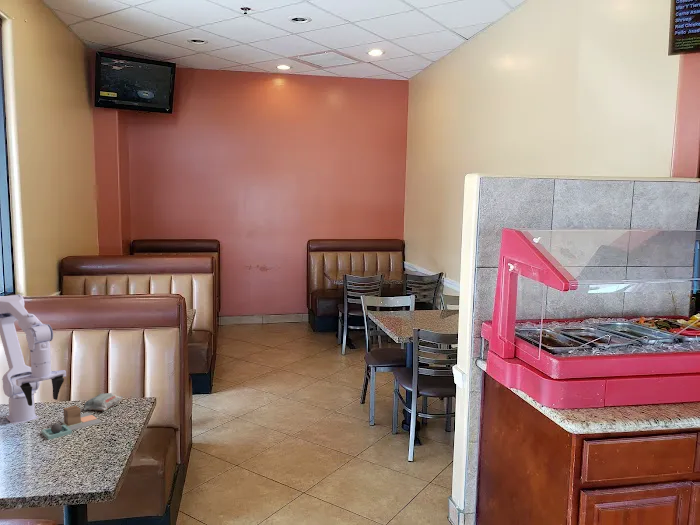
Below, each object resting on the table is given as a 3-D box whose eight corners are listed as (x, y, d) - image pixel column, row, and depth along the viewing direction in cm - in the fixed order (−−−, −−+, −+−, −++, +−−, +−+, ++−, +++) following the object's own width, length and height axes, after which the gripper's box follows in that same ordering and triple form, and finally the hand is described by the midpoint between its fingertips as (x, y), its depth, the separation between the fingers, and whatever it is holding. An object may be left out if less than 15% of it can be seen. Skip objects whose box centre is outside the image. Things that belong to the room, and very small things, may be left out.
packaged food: (123, 403, 210) (122, 390, 209) (104, 415, 198) (104, 402, 197) (101, 402, 211) (101, 390, 210) (82, 414, 199) (81, 400, 199)
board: (58, 422, 191) (58, 419, 191) (88, 414, 198) (88, 411, 198) (70, 432, 182) (70, 429, 182) (101, 424, 189) (101, 421, 189)
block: (64, 422, 188) (63, 408, 188) (76, 419, 191) (75, 405, 190) (68, 425, 185) (67, 411, 185) (80, 422, 188) (80, 408, 188)
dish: (41, 434, 180) (41, 430, 180) (64, 428, 185) (64, 424, 185) (48, 441, 175) (48, 436, 175) (71, 435, 180) (71, 430, 180)
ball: (49, 433, 180) (49, 423, 180) (60, 430, 183) (59, 421, 182) (52, 436, 178) (52, 426, 178) (63, 433, 180) (63, 423, 180)
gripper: (19, 369, 173) (22, 410, 175) (68, 360, 184) (70, 399, 185) (13, 364, 178) (15, 405, 180) (61, 355, 189) (62, 394, 190)
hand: (42, 401), depth 183 cm, fingers open, 7 cm apart
